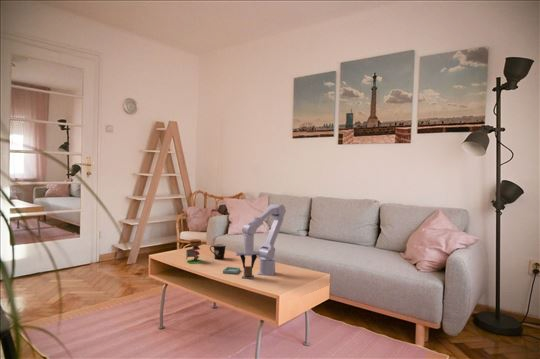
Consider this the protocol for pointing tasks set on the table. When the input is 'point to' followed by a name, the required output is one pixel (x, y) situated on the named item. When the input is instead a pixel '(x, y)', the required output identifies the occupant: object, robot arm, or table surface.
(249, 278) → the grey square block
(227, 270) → the tray
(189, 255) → the toy tree house
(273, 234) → the robot arm
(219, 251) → the coffee mug
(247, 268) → the walnut ring block
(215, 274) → the table surface
